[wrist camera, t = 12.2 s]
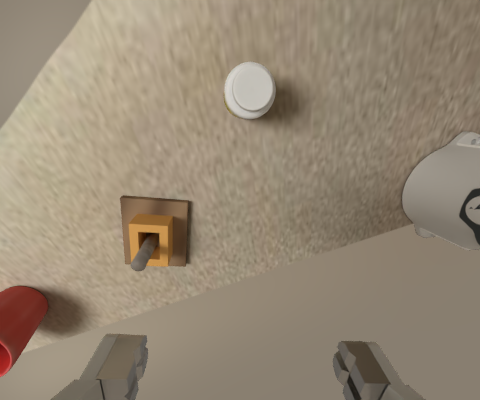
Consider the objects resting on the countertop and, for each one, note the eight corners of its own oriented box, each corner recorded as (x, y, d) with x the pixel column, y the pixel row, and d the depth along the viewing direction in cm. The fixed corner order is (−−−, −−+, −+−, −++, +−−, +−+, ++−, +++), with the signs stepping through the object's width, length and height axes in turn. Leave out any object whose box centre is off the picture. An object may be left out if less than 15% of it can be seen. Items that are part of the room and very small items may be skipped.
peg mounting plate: (188, 200, 35) (178, 226, 27) (186, 263, 39) (177, 302, 31) (123, 195, 34) (91, 221, 26) (127, 260, 38) (101, 300, 30)
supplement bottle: (253, 67, 30) (268, 43, 20) (269, 107, 32) (290, 103, 22) (216, 87, 30) (214, 72, 20) (234, 125, 32) (240, 129, 22)
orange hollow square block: (172, 215, 35) (167, 226, 32) (172, 253, 37) (167, 266, 34) (137, 213, 34) (128, 223, 31) (139, 251, 37) (131, 265, 33)
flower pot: (71, 303, 41) (29, 357, 31) (32, 333, 42) (-19, 392, 33) (18, 267, 37) (-48, 316, 28) (-23, 301, 39) (-97, 357, 30)
